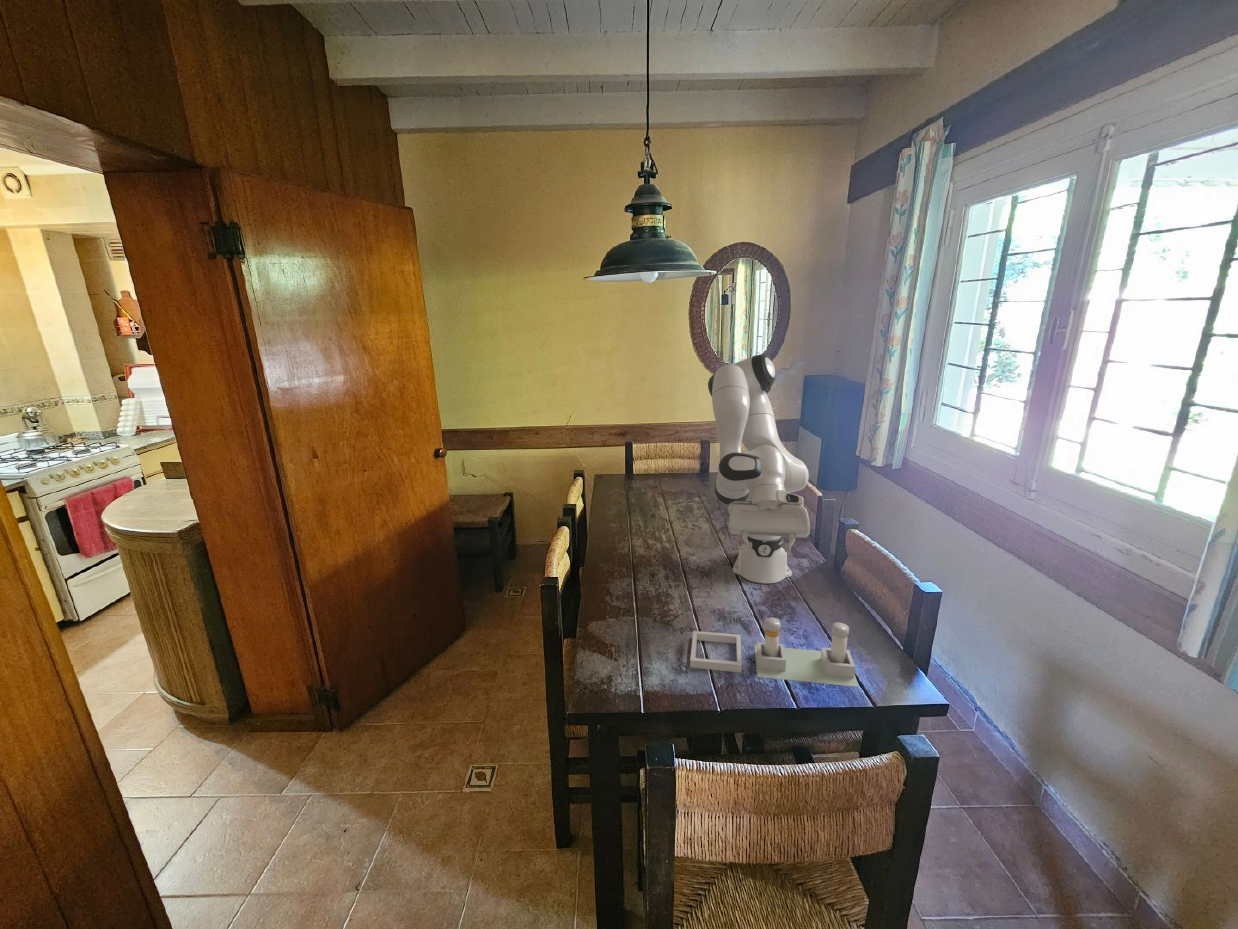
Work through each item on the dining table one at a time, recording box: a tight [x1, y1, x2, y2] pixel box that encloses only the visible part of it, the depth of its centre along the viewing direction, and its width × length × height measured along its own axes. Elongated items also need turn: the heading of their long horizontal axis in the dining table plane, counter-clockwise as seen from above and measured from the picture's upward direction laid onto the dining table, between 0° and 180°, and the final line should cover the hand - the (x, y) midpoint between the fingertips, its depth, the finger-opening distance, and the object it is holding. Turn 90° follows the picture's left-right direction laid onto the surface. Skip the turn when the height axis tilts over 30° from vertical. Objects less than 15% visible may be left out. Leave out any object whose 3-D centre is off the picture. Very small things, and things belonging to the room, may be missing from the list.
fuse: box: [829, 622, 850, 664], centre depth 117 cm, size 4×4×11 cm
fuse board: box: [753, 641, 860, 688], centre depth 120 cm, size 12×22×4 cm, turn 78°
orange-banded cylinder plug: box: [763, 617, 782, 658], centre depth 121 cm, size 4×4×11 cm
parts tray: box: [689, 630, 743, 673], centre depth 125 cm, size 12×12×3 cm
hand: (768, 550), depth 128 cm, fingers open, 8 cm apart
